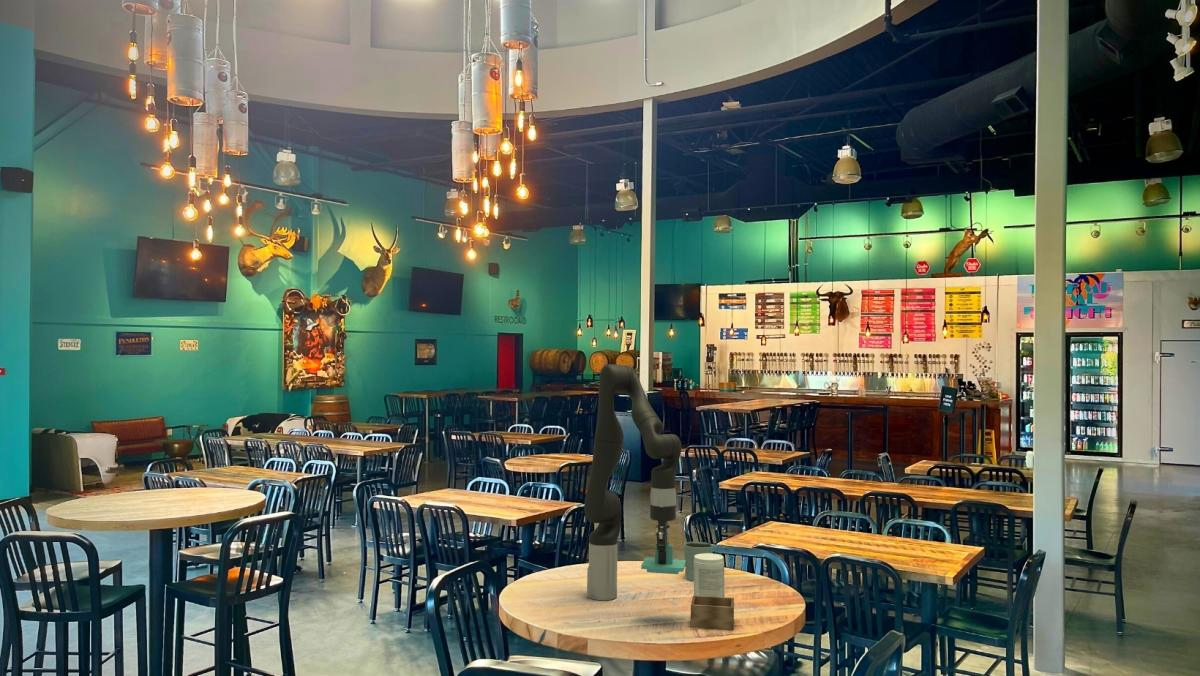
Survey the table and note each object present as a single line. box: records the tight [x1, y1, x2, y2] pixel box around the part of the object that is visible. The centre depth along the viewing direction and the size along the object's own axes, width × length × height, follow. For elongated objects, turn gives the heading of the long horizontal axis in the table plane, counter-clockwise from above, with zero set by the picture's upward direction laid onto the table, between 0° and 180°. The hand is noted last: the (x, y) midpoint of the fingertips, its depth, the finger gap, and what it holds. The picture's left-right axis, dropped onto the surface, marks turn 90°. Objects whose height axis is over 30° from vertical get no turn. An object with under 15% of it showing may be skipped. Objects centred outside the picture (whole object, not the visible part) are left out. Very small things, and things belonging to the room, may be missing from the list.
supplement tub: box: [693, 553, 726, 597], centre depth 260 cm, size 10×10×15 cm
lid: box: [640, 543, 686, 575], centre depth 240 cm, size 12×10×7 cm
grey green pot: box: [683, 541, 714, 582], centre depth 290 cm, size 10×10×12 cm
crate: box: [690, 594, 735, 631], centre depth 238 cm, size 12×10×7 cm
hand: (662, 562), depth 240 cm, fingers closed on lid, 3 cm apart
